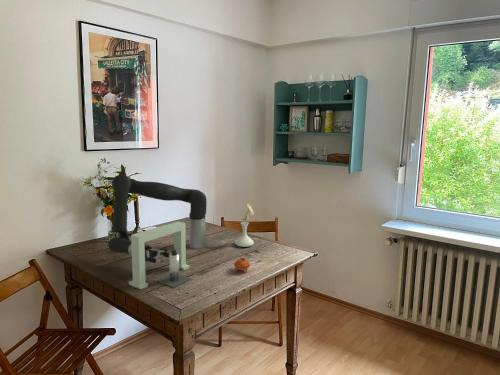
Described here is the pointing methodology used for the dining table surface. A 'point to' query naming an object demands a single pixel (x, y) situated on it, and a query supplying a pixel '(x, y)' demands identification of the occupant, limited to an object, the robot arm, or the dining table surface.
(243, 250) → the dining table surface
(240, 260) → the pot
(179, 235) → the frame
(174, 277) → the plug peg
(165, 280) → the rubber mat
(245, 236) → the flower in vase
